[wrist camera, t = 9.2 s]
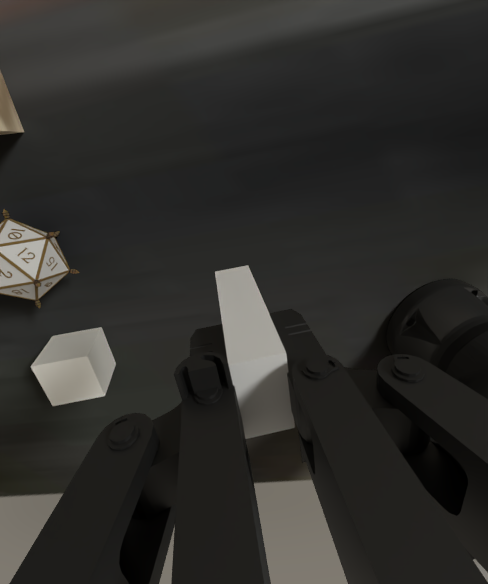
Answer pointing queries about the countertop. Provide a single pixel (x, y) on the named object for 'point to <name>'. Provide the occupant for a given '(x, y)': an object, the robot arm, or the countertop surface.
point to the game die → (29, 260)
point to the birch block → (8, 112)
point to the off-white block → (75, 366)
